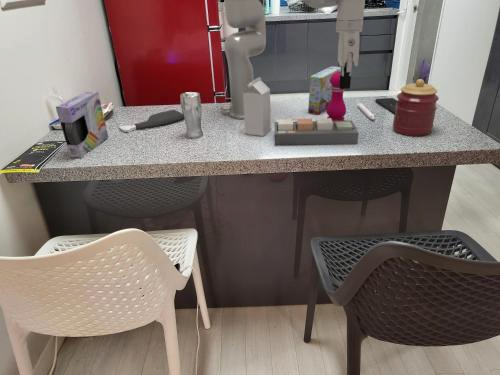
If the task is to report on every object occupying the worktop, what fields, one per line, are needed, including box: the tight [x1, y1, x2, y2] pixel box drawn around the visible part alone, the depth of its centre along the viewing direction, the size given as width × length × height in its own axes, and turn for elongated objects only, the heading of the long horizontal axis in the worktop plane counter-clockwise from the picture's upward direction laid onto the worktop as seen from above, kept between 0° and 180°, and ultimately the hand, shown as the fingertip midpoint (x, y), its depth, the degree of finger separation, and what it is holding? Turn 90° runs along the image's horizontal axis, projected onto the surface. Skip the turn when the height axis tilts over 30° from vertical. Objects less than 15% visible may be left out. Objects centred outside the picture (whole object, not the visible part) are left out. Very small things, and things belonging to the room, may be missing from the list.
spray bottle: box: [118, 109, 185, 134], centre depth 148 cm, size 3×11×24 cm
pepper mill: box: [325, 68, 347, 121], centre depth 136 cm, size 7×7×20 cm
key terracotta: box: [296, 118, 313, 131], centre depth 126 cm, size 5×5×4 cm
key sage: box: [335, 122, 353, 130], centre depth 126 cm, size 5×5×4 cm
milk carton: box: [243, 76, 272, 137], centre depth 131 cm, size 7×7×19 cm
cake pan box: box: [55, 90, 109, 159], centre depth 125 cm, size 19×5×18 cm, turn 170°
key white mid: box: [315, 117, 333, 130], centre depth 125 cm, size 5×5×4 cm
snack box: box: [307, 66, 341, 116], centre depth 154 cm, size 21×6×15 cm, turn 147°
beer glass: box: [180, 91, 204, 139], centre depth 132 cm, size 7×7×15 cm
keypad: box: [273, 119, 359, 147], centre depth 127 cm, size 27×12×4 cm, turn 86°
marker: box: [357, 102, 376, 121], centre depth 147 cm, size 18×2×2 cm, turn 2°
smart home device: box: [374, 97, 398, 116], centre depth 153 cm, size 8×2×20 cm
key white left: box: [277, 118, 294, 131], centre depth 126 cm, size 5×5×4 cm
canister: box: [392, 78, 440, 137], centre depth 126 cm, size 13×13×18 cm
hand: (344, 88), depth 119 cm, fingers closed
